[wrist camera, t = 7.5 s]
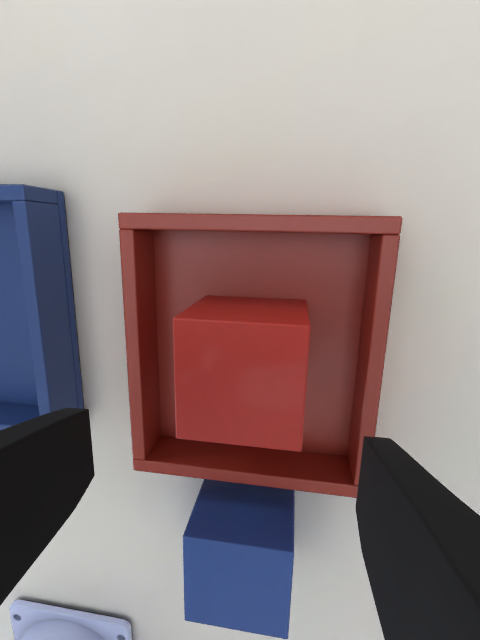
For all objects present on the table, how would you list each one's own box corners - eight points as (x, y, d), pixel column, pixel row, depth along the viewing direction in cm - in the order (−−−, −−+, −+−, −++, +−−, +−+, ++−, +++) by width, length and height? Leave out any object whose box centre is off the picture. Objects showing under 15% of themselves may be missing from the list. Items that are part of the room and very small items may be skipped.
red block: (300, 395, 16) (301, 453, 12) (205, 386, 17) (175, 439, 12) (306, 299, 15) (310, 325, 11) (205, 294, 16) (172, 317, 11)
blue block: (289, 548, 19) (287, 640, 14) (208, 536, 19) (184, 621, 15) (294, 476, 18) (294, 553, 13) (208, 466, 18) (182, 536, 14)
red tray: (357, 462, 17) (367, 500, 15) (154, 439, 18) (133, 470, 16) (385, 219, 14) (403, 216, 12) (144, 215, 16) (117, 212, 13)
